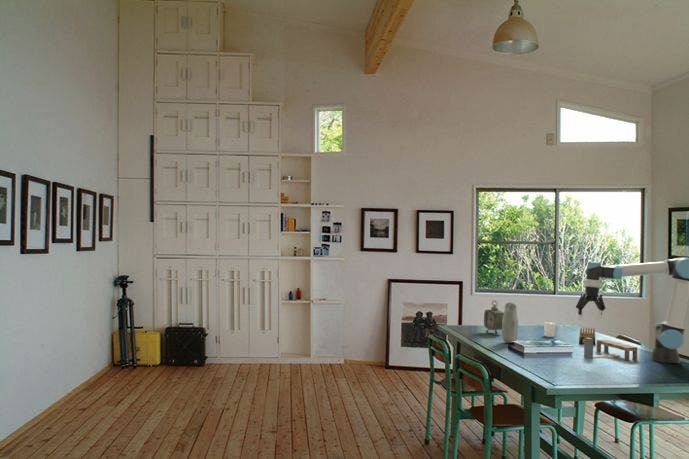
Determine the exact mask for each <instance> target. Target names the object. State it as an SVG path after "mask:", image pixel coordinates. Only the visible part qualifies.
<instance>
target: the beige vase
mask: <svg viewBox="0 0 689 459" xmlns="http://www.w3.org/2000/svg"><path fill="white" fill-rule="evenodd" d="M504 306H505V307H504V312H503V313H504V315H503V318H502V330H501V336H502V337H501V338H502V340H503V342H505V343H506V344H509V342H510V341H516V342H517V340H518V335H519V334H518V332H519V331H518V330H519V317H518V314H517V305H516V303H513V302H507V303H506V304H505V305H504Z"/></svg>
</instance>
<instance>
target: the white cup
mask: <svg viewBox="0 0 689 459" xmlns="http://www.w3.org/2000/svg"><path fill="white" fill-rule="evenodd" d="M556 325H557V324H556V322H553V321H552V322H550V321H545V322H544V324H543V326H544V327H543V329H544V336H545V337H548V338H555V333H556Z"/></svg>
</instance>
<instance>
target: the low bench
mask: <svg viewBox="0 0 689 459" xmlns="http://www.w3.org/2000/svg"><path fill="white" fill-rule="evenodd" d="M602 345H603V352H604V353H609V349H610V348H614V349H618V350H622V351H624V361H625V362H630V352H632V361H634V360H635V361H634V362H636V360H637V361H638V347H637V346H634V345H629V344H626V343H625V344H624V343H622V342H618V341H614V340H610V339H596V352H595V353H598V354H600V353H601V354H602ZM609 347H610V348H609Z"/></svg>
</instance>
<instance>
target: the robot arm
mask: <svg viewBox="0 0 689 459" xmlns="http://www.w3.org/2000/svg"><path fill="white" fill-rule="evenodd" d="M586 266H587V268H586V280H585V281H586V282H585V285H586V286H585V293H581V294H580V297H579V299H578V302H577V304H576V306H575V308H576V309H578V312H577V313H578V321H579V320H580V321H583V320H584V308H585V307H586V306H587V304H588V303H589V302H594V304H595V305H596V307H597V310H596V311H597V312H596V321H599V322H601V321H602V315H603V311H604V310H606V305H605V303H604V300H603V294H600V279H601V278H602V279H610V280H611V279H612V280H621V279H622V278H623V277H636V276H637V277H638V276H652V275H653V276H654V275H666V276H672V277H671V279H672V280H673V286H672V291H671V294H670V299H669V303H668V309H667V314H666V317H665V320H664V321H662V322H656V323H655V327H654V348H653V351H652V353H651V356H650V359H651V360H652V361H655V362H659V363H664V364H671V363H678V364H681V357H680V356H679V355H680V354H679V351H678V349H680V348H681V347H682V346H683V345H684V342H685V337H684V333H685V327H684V325H683V323H684V319H685V316H686V310H687V307H688V306H687V305H688V302H689V257H684V256H683V257H682V256H681V257H677V258H672V259H665V260H664V261H656V262H655V261H654V262H643V263H642V262H641V263H628V264H627V263H624V264H613V265H612V264H607V265H602V262H600V261H592V260H591V261H588V262H587V265H586Z"/></svg>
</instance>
